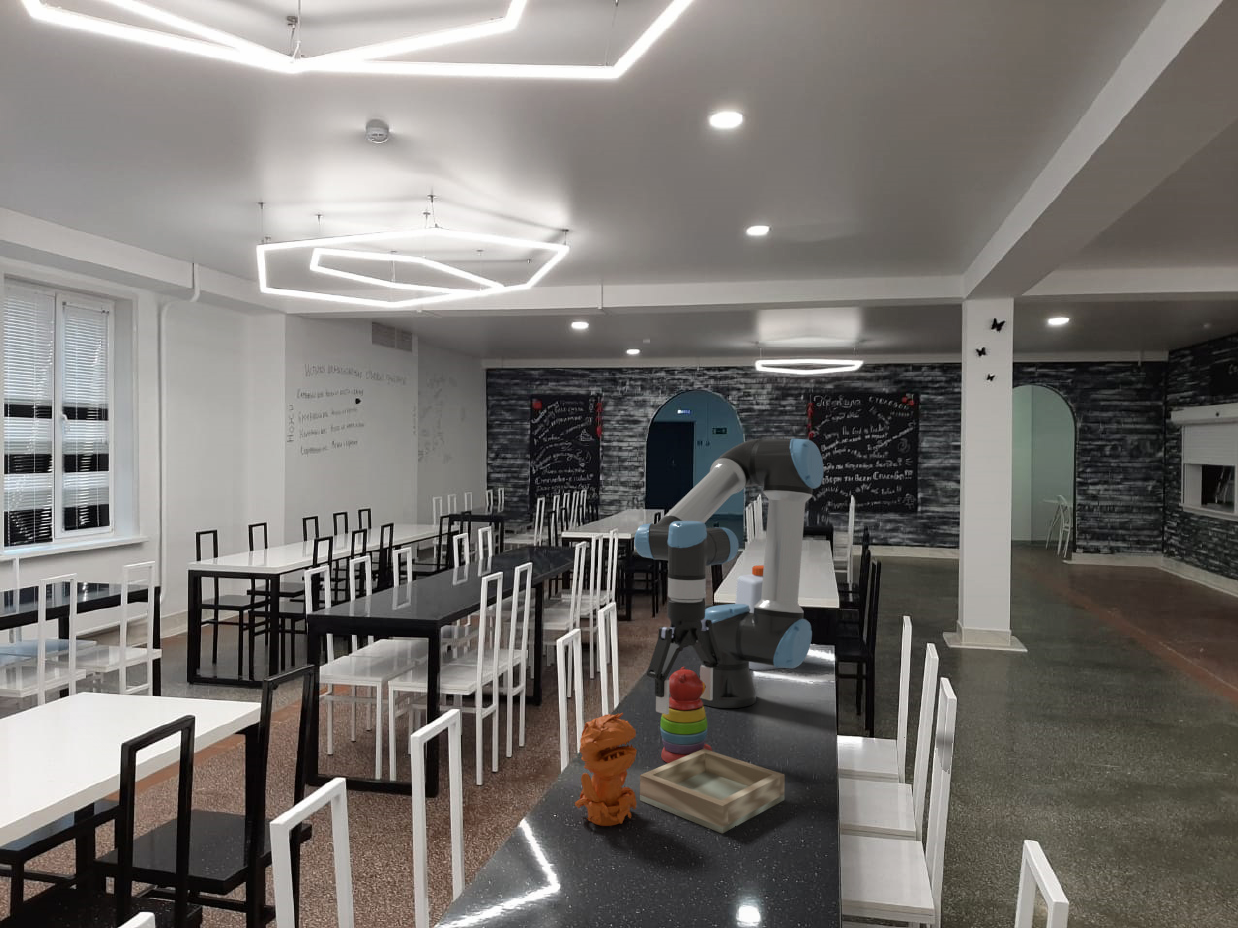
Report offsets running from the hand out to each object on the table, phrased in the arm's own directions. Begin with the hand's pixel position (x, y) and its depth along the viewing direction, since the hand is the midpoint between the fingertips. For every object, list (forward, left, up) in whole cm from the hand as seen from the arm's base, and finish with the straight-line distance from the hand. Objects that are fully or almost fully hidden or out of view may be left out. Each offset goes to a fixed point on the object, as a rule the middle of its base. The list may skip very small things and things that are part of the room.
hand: (684, 705), depth 166 cm
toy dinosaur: (+30, +8, -11) cm, 33 cm away
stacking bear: (0, 0, -11) cm, 11 cm away
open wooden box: (+12, +16, -11) cm, 22 cm away
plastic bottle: (-72, -31, -11) cm, 79 cm away
